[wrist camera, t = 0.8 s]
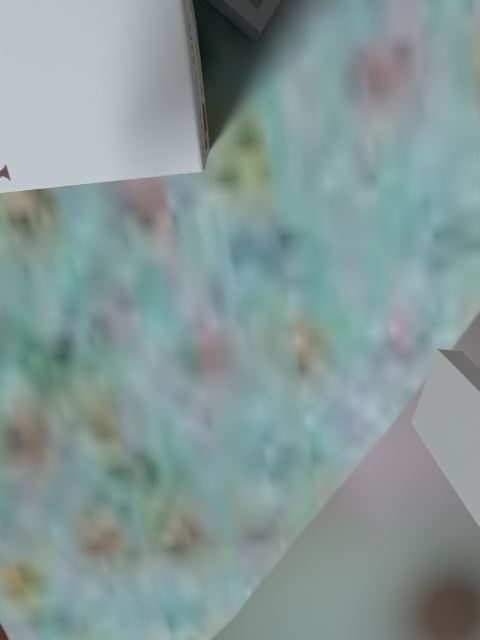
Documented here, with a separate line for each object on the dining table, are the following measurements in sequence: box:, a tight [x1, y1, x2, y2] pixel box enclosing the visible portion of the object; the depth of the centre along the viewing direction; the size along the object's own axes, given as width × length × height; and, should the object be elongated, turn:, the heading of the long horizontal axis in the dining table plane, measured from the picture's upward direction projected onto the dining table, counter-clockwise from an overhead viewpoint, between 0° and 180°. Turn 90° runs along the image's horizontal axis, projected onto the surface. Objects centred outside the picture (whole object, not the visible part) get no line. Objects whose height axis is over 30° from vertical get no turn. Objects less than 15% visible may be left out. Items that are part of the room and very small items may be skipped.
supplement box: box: [0, 0, 210, 193], centre depth 24 cm, size 10×9×17 cm
